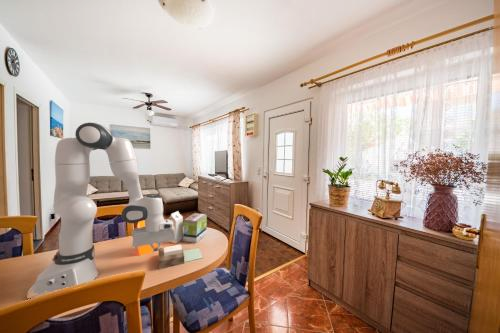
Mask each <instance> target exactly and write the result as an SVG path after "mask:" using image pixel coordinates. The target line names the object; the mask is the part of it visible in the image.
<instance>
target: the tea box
mask: <svg viewBox="0 0 500 333" xmlns="http://www.w3.org/2000/svg"><path fill="white" fill-rule="evenodd" d="M207 216H208V215H207V214H205V213H196V212H195V213H192V214H191V215H189V216H187V217H186V218H185V219H184V218H183V239H182V241H183V242H186V243H194V244H195V243H196V244H197V243H198V242H199V241H200V240H202V238H203V237H204V236H205V235H207V226H208V225H207V223H208V222H207V219H208V217H207Z"/></svg>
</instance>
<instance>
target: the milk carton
mask: <svg viewBox="0 0 500 333" xmlns="http://www.w3.org/2000/svg"><path fill="white" fill-rule="evenodd" d="M180 213H181V212H179V210H177V211H175V212H172V213H170V216H169V217H167V219H166V220H172V222H173V226H174V228H175V233H176V238H175V240H170V241H166V242H167V243H172V244H177V243H179V242H180V241H183V236H184V234H183V233H184V217H183V215H182V214H180Z"/></svg>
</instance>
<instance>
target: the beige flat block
mask: <svg viewBox="0 0 500 333" xmlns="http://www.w3.org/2000/svg"><path fill="white" fill-rule="evenodd" d="M163 248H164V256H169V255H174V254H179V253H182V250H183V246H182V244H180V243H179V244H176V245H171V246H166V247H163Z"/></svg>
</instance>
